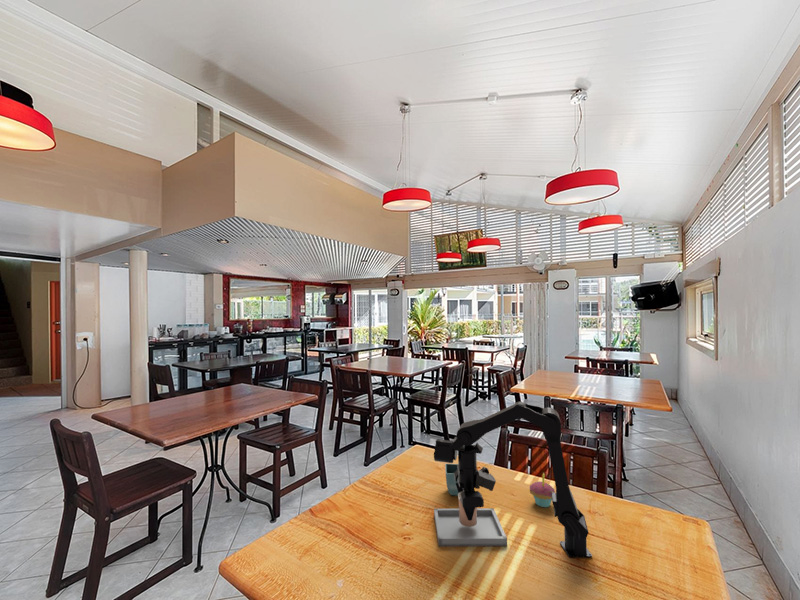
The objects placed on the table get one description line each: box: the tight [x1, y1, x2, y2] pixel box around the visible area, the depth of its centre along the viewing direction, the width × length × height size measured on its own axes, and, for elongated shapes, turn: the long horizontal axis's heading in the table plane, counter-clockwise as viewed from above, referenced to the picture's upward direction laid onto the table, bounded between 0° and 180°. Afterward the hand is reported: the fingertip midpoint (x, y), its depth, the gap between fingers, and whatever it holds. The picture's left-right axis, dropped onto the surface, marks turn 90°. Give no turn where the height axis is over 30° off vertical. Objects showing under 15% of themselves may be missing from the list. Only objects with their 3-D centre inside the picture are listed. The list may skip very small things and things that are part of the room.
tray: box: [433, 507, 508, 547], centre depth 115 cm, size 16×20×2 cm
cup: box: [457, 491, 478, 527], centre depth 115 cm, size 6×6×8 cm
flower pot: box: [444, 463, 459, 496], centre depth 138 cm, size 9×9×9 cm
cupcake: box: [529, 472, 556, 508], centre depth 130 cm, size 9×8×12 cm
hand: (468, 514), depth 115 cm, fingers closed on cup, 6 cm apart
